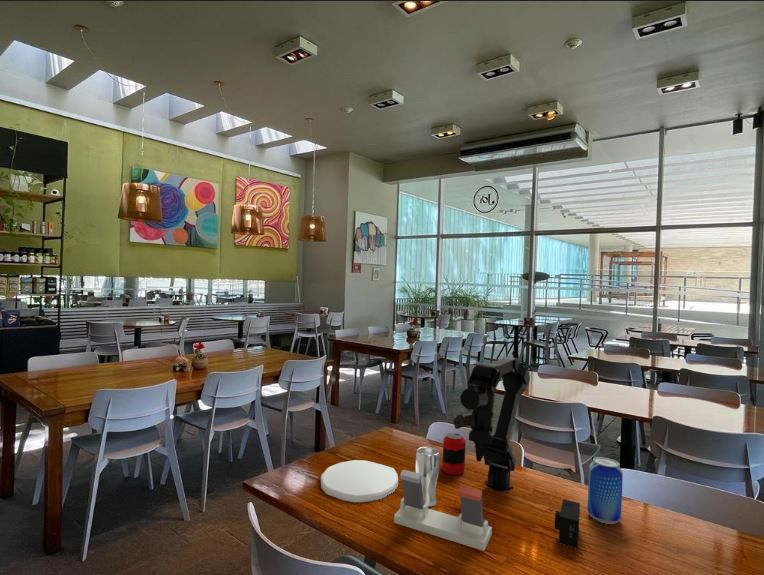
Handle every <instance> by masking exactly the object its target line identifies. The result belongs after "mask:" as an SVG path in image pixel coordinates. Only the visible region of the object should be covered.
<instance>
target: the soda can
mask: <svg viewBox="0 0 764 575" xmlns="http://www.w3.org/2000/svg"><path fill="white" fill-rule="evenodd" d="M442 441H443V442H442V443H443V444H442V463H441V464H442V466H441V467H442V471H443V472H444V473H446V474H448V475H451V476H459V475H463V474H464V473H465V469H466V468H465V462H466V445H467V443H466V439H465V438H464V436H463V435H462V434H460V433H456V432H455V433H454V432H452V433H451V432H450V433H447V434H446V435H445V436H444V437H443V440H442Z"/></svg>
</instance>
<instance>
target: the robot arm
mask: <svg viewBox="0 0 764 575" xmlns="http://www.w3.org/2000/svg"><path fill="white" fill-rule="evenodd" d="M470 373H471V374H470V375H469V378H468V381H467V383H466V385H467V388H466V389H464V390H463V391H461V394H460V396H459V397H460V403H461V405H462V406H463V407H464V408H465V409H466V410H471V412H469V413H468V412H467V413H460V414H456V415H454V416H453V417H452V421H453V425H454V429H455V430H458V429H461V428H465V427H469V428H470V431H469V433H468V441H470V442H473V443H474V448H475V459H476V462H482V459H483V462H484V465H485V466H488V471H487V480H485V481H484V483H485V484H486V485H487V486H489V487H491V488H492V489H494V490H496V491H498V492H500V491H505V490H509V489H513V488H514V485H513V484H511V483H510V482H511V473H512V472H515V471H516V464H517V461H516V458H515V456H514V454H513V451H514V450H513V446H512V443H511V435H512V428H513V425H514V421H515V417H516V412H517V407H518V402H519V399H520V397H521V396H522V395H523V394H524V393H525V392H526V391H527V387H528V385H529V384H530V378H531V375H530V374H529V373H530V372H529V371H528V369H527V367H525V366H524V365H523V364H522V363H521V362H520V359H518V358H517V357H511V356H510V357H509V356H503V357H501V358H499V359H497V360H495V361H493V362H490V363H486V362H477V363H476V364H475V366H474V367H473V369H472V371H471V372H470ZM501 381H502V386H503V389H504V395H503V399H502V403H501V407H500V411H499V416H498V419H497V420H498V421H497V423H496V428H495V432H494V434H493V419H494V409H495V397H496V392H497V390H498V389H497V387H498V385H499V384H500V382H501Z"/></svg>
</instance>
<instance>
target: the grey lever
mask: <svg viewBox="0 0 764 575" xmlns="http://www.w3.org/2000/svg"><path fill="white" fill-rule="evenodd" d="M421 479H422V475H421V474H419V473H416V471H415V472H414V471H411V470H408V469H407V470H406V469H402V470H401V472H400V480H401V483H402V484H401V485H402V486H401V487H402V492H403V497H404V502H405V505H407V506H410V507H414V508H417V509H421V510H423V506H424V501H423V492H422V483H421Z"/></svg>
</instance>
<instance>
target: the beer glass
mask: <svg viewBox="0 0 764 575" xmlns="http://www.w3.org/2000/svg"><path fill="white" fill-rule="evenodd" d="M415 454H416V456H415V464H414V466H415V467H414V468H415V473H419V474H421V475H422V479H421V483H422V492H423V501H424V505H425V503H426V504H428V508H432V507H434V506H436V504H437V496H436V487H437V482H438V478H439V472H440V450H438V449H437V448H435V447H431V446H422V447H418V448H417V449H416V453H415Z"/></svg>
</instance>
